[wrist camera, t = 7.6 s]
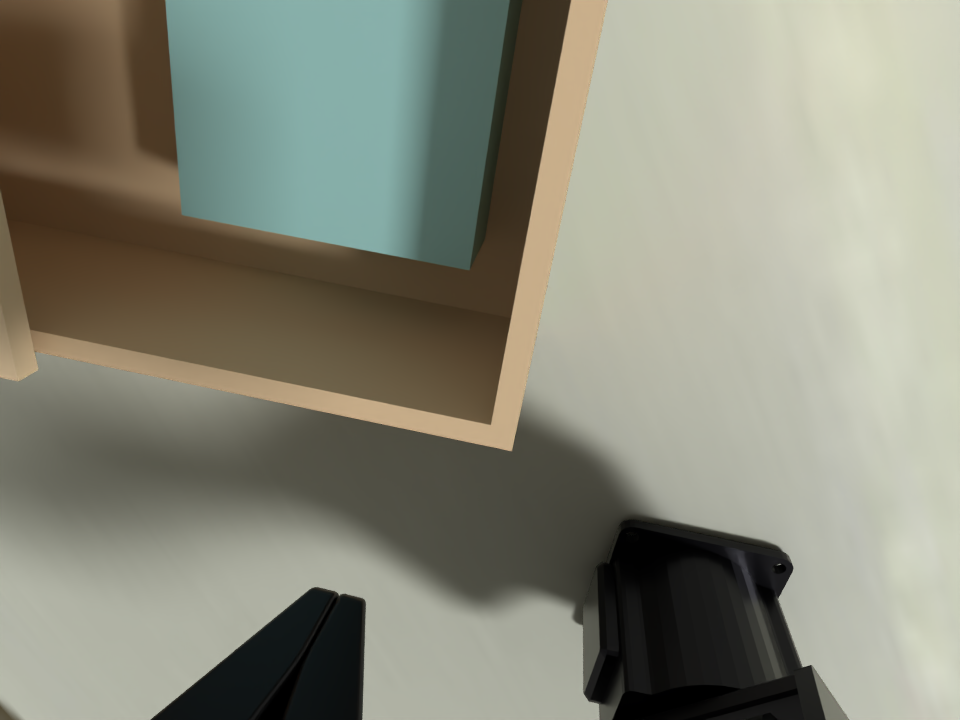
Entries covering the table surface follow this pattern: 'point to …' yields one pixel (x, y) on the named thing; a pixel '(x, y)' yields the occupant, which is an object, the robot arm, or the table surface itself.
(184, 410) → the table surface
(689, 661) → the robot arm
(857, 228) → the table surface
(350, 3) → the mailer box
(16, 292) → the mailer lid
